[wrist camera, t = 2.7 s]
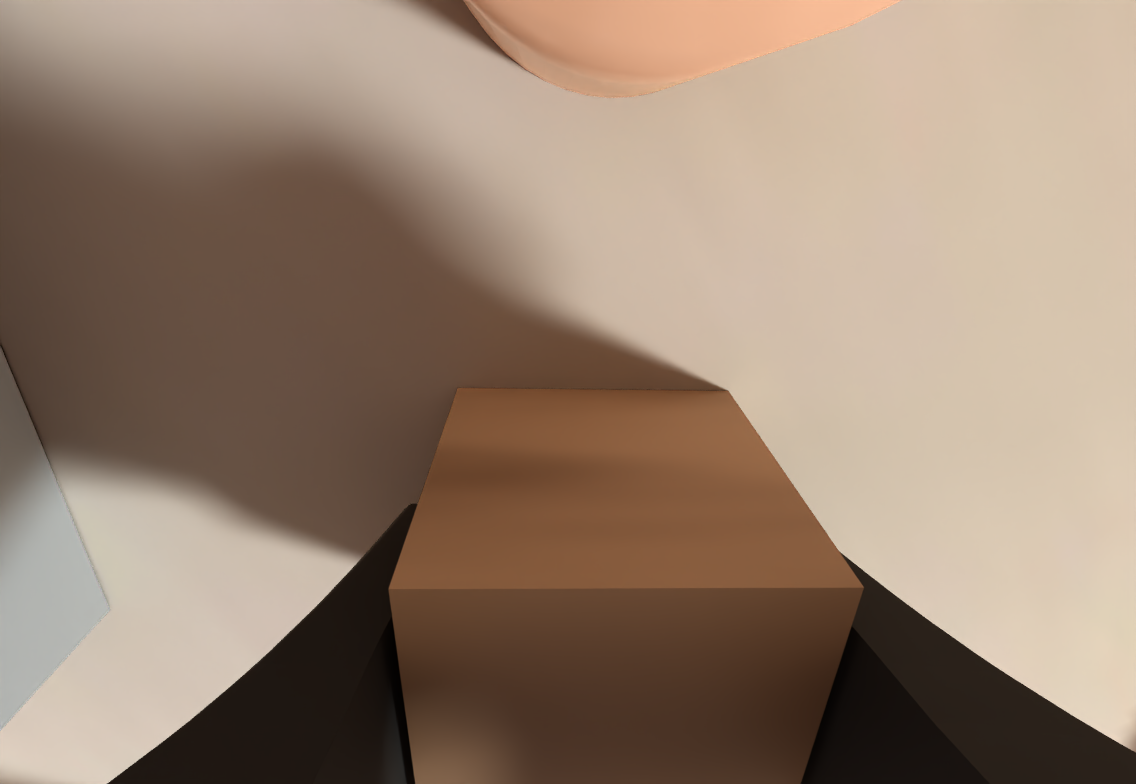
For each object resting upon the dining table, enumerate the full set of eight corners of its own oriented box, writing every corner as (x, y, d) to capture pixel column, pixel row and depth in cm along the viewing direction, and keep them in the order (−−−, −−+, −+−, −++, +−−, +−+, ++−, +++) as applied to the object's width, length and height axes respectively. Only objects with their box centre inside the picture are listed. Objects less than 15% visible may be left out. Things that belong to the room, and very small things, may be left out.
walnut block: (695, 594, 12) (778, 853, 7) (470, 594, 11) (426, 862, 7) (727, 390, 10) (864, 587, 6) (457, 387, 10) (388, 588, 5)
